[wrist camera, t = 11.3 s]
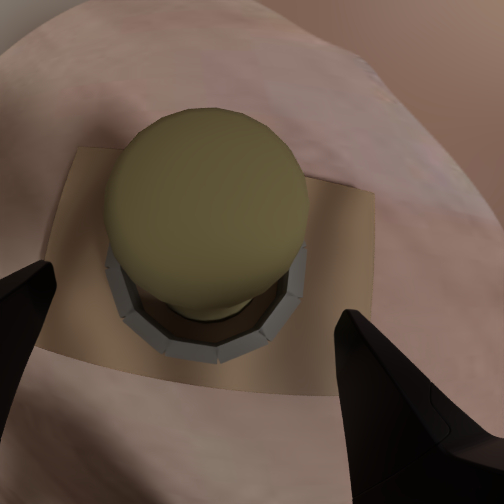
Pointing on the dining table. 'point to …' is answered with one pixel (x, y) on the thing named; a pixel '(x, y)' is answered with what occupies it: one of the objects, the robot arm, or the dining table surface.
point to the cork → (206, 211)
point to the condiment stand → (211, 334)
